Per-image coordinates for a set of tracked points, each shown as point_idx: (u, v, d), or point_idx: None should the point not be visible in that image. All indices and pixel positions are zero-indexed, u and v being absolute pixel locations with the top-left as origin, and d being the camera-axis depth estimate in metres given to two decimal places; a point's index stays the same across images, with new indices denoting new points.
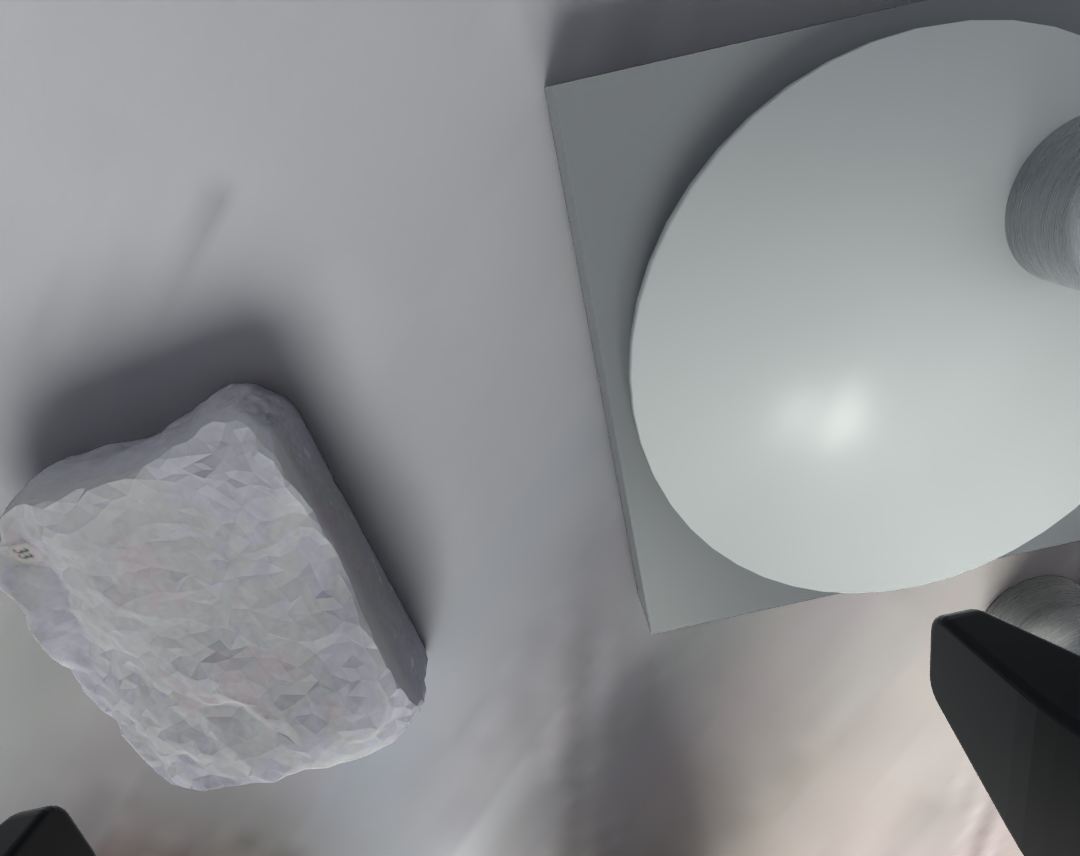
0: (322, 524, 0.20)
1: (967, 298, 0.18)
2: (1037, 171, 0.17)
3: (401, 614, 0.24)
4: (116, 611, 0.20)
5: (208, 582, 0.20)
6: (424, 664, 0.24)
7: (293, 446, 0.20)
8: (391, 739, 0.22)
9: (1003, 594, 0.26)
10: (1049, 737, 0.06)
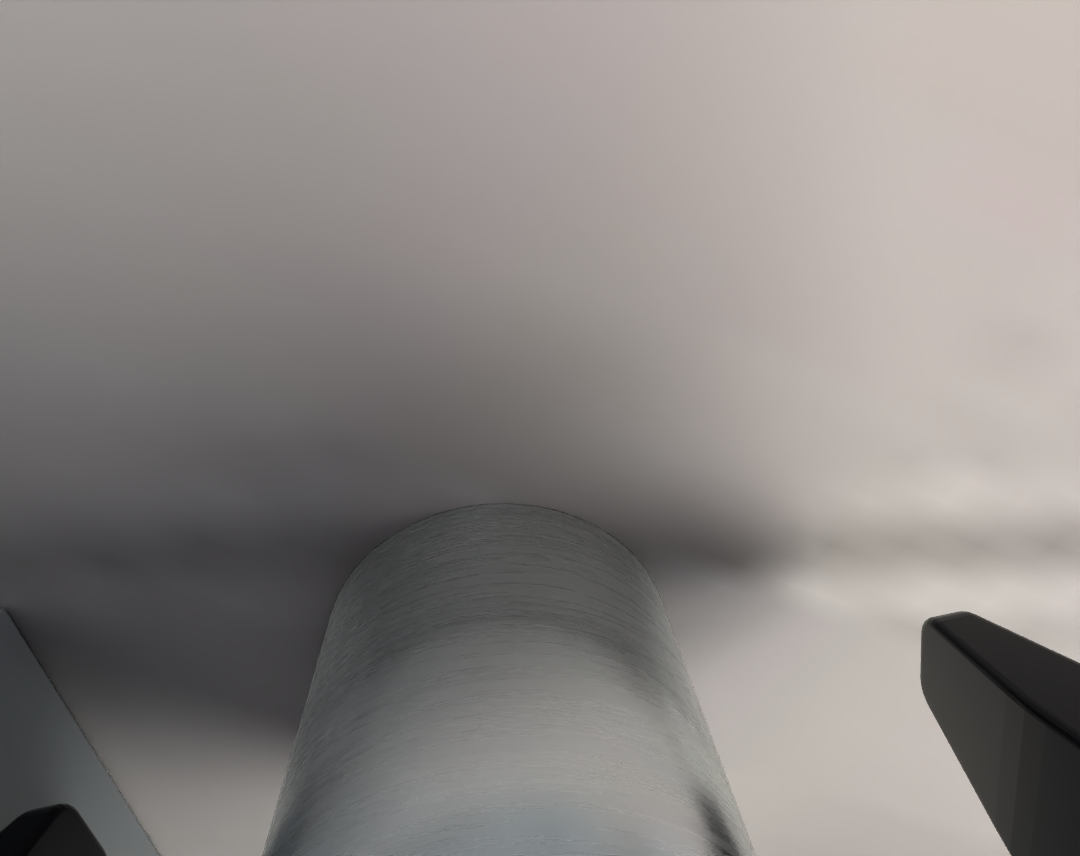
0: None
1: None
2: None
3: None
4: None
5: None
6: None
7: None
8: None
9: None
10: (1036, 739, 0.06)
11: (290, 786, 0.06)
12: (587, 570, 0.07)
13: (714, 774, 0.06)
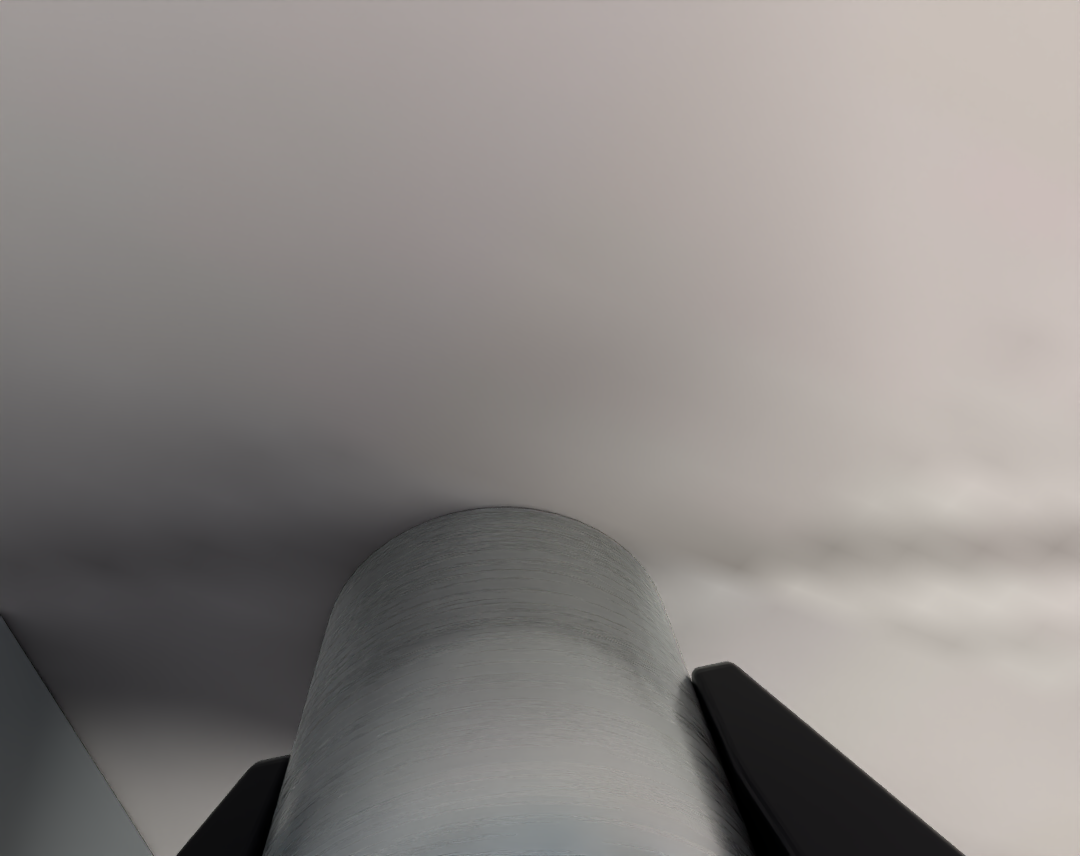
0: None
1: None
2: None
3: None
4: None
5: None
6: None
7: None
8: None
9: None
10: (745, 801, 0.06)
11: (288, 796, 0.06)
12: (588, 575, 0.07)
13: (717, 784, 0.06)
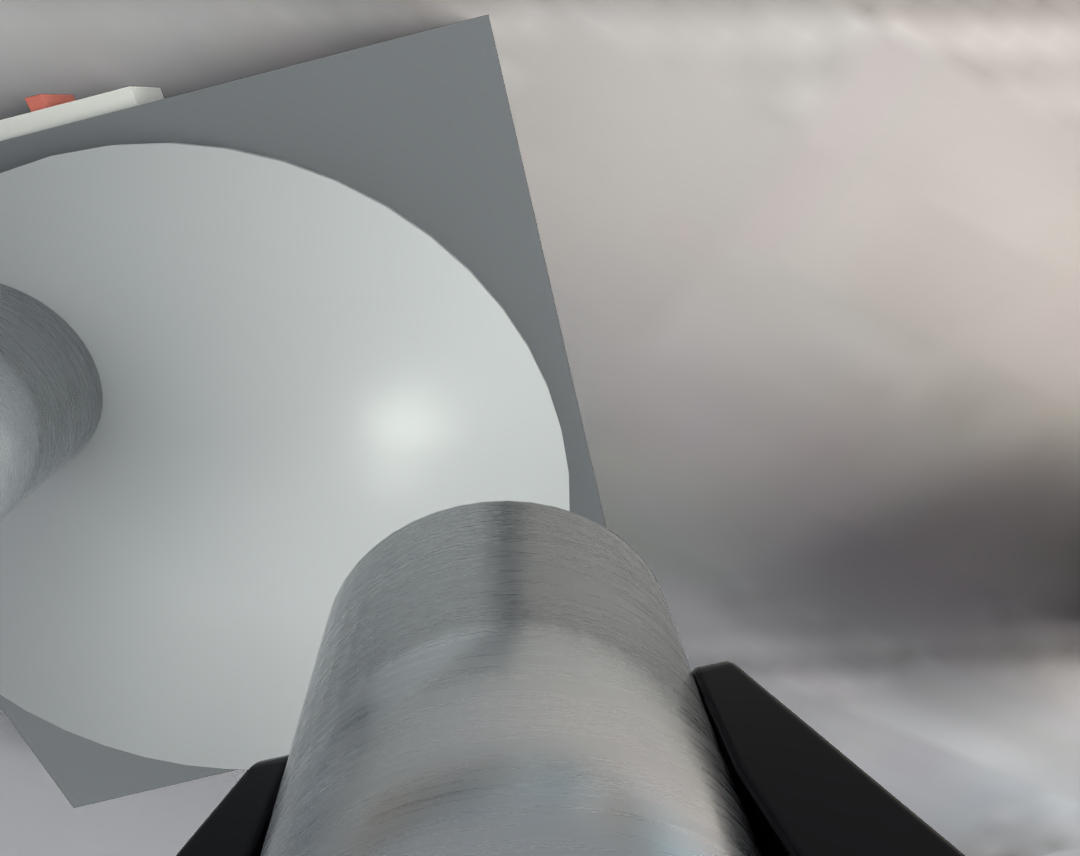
0: None
1: (147, 483, 0.15)
2: None
3: None
4: None
5: None
6: None
7: None
8: None
9: None
10: (744, 802, 0.06)
11: (288, 789, 0.06)
12: (590, 568, 0.07)
13: (721, 776, 0.06)
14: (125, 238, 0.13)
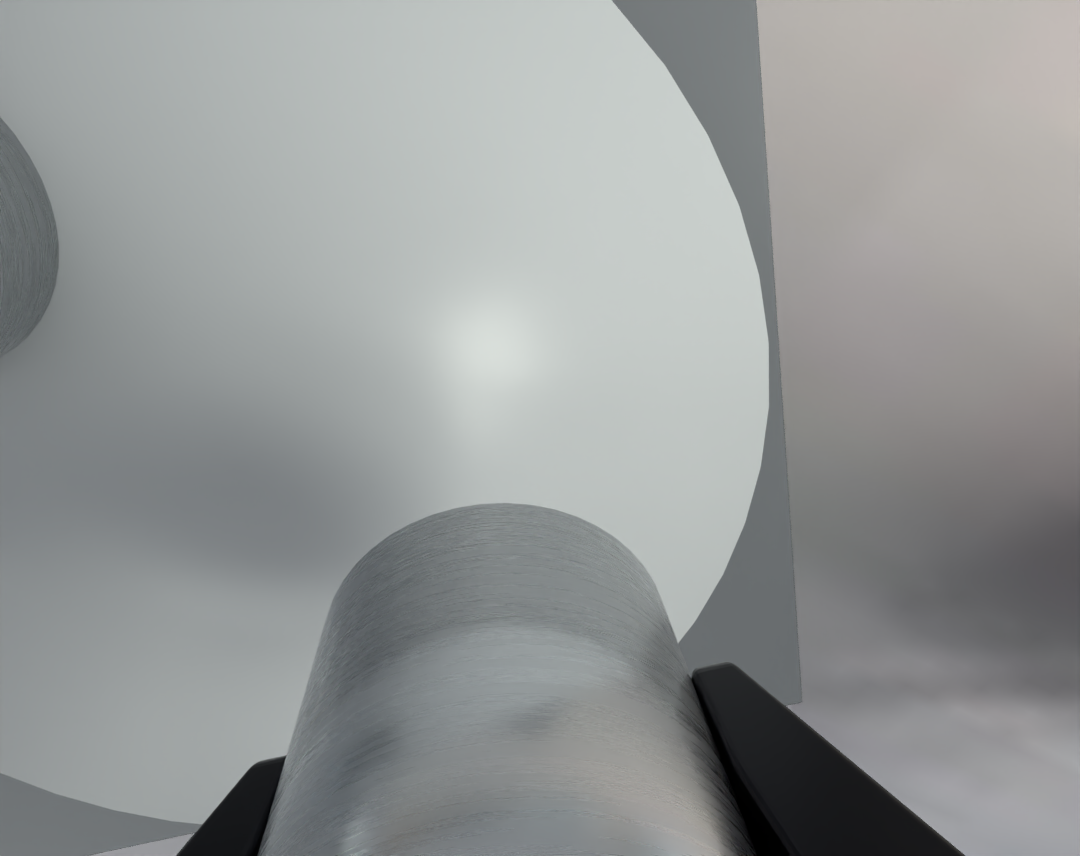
0: None
1: (128, 399, 0.10)
2: None
3: None
4: None
5: None
6: None
7: None
8: None
9: None
10: (744, 801, 0.06)
11: (285, 793, 0.06)
12: (587, 571, 0.07)
13: (717, 780, 0.06)
14: None
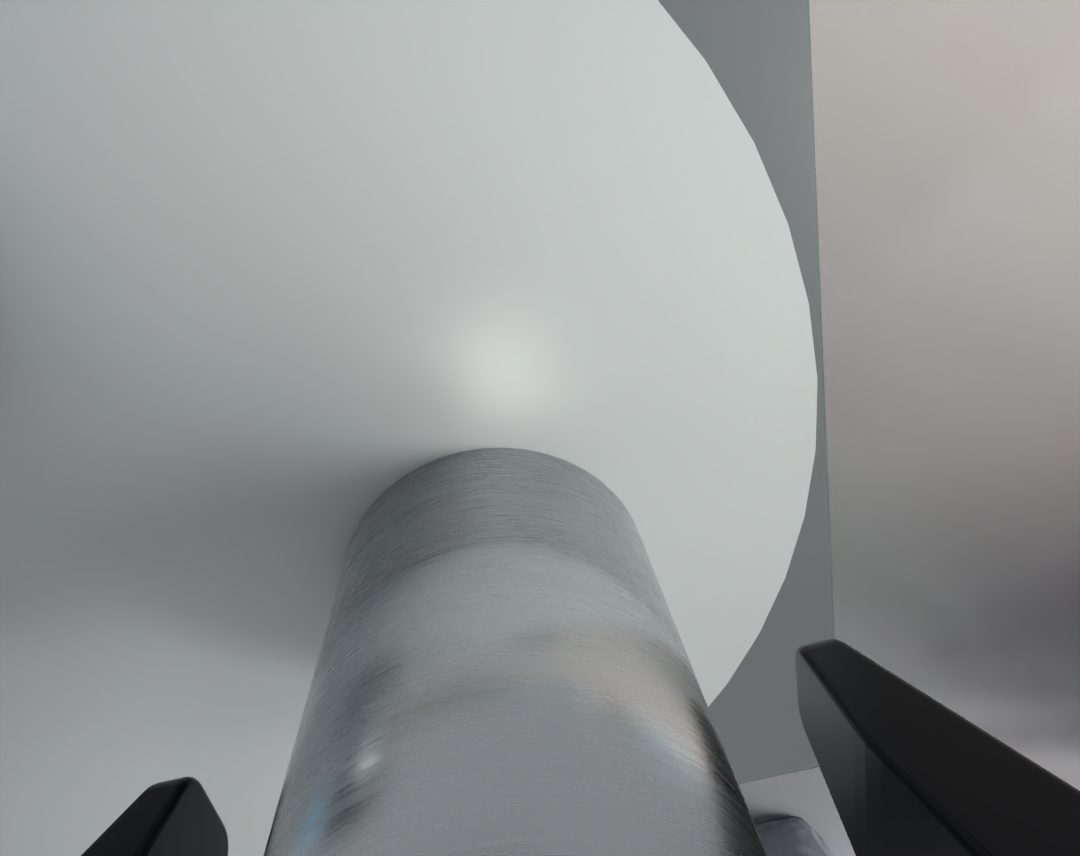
0: None
1: (83, 445, 0.09)
2: None
3: None
4: None
5: None
6: (795, 852, 0.16)
7: None
8: None
9: None
10: (875, 774, 0.06)
11: (323, 666, 0.07)
12: (573, 499, 0.08)
13: (678, 653, 0.07)
14: None
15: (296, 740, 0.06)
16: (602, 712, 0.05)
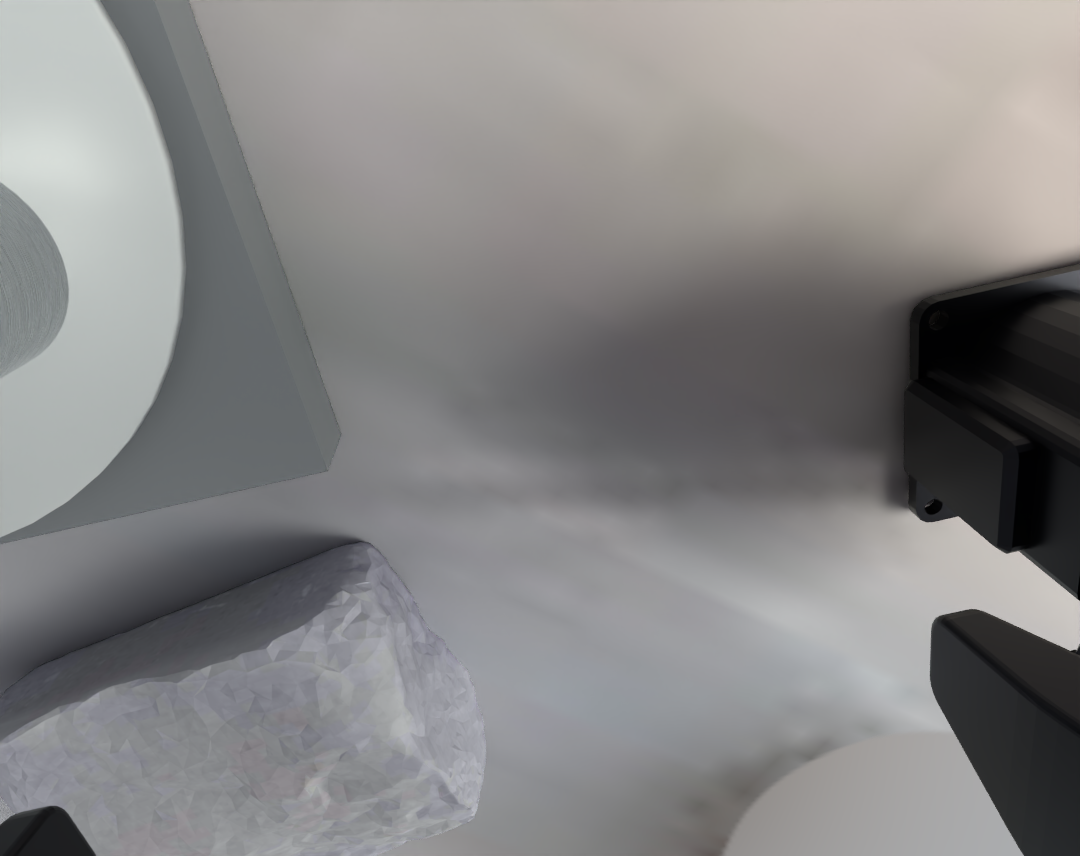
0: (78, 697, 0.18)
1: None
2: None
3: (278, 579, 0.20)
4: None
5: (160, 796, 0.19)
6: (344, 559, 0.19)
7: (20, 702, 0.19)
8: (364, 644, 0.17)
9: None
10: (1049, 737, 0.06)
11: None
12: None
13: None
14: None
15: None
16: None
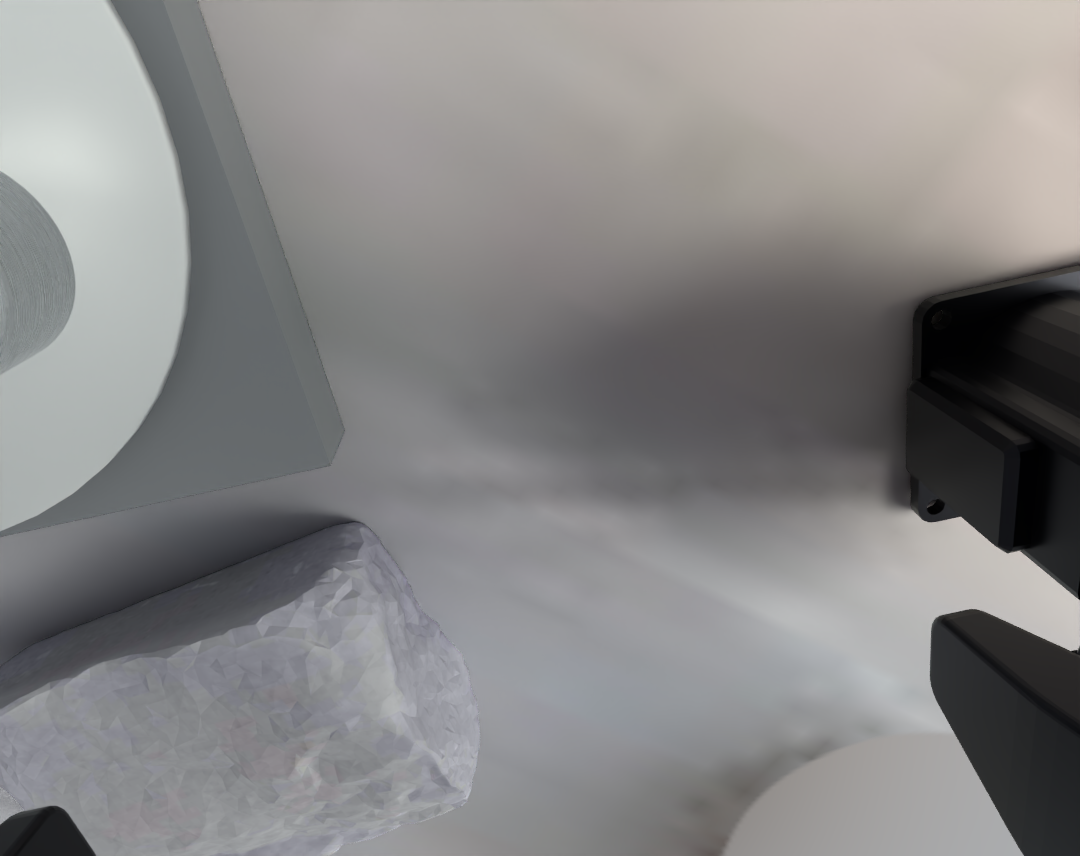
0: (68, 673, 0.18)
1: None
2: None
3: (270, 558, 0.20)
4: (208, 837, 0.20)
5: (150, 774, 0.19)
6: (336, 537, 0.19)
7: (12, 679, 0.19)
8: (355, 622, 0.17)
9: None
10: (1049, 737, 0.06)
11: None
12: None
13: None
14: None
15: None
16: None
